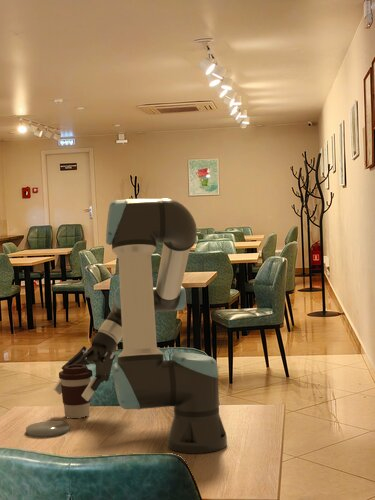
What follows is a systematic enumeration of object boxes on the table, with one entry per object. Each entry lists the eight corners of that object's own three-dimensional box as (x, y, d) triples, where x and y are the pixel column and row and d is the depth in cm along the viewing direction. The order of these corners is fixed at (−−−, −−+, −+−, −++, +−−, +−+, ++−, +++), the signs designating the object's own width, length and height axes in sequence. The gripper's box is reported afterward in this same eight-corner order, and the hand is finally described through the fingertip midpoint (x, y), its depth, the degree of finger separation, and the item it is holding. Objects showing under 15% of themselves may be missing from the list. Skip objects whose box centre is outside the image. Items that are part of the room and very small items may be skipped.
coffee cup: (97, 411, 224) (95, 363, 223) (89, 420, 214) (87, 369, 213) (65, 411, 225) (63, 363, 224) (56, 420, 215) (54, 370, 214)
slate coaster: (75, 433, 202) (75, 428, 201) (32, 440, 196) (32, 435, 196) (62, 422, 212) (62, 418, 212) (21, 429, 207) (21, 424, 207)
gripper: (141, 349, 221) (104, 408, 211) (89, 341, 238) (53, 396, 228) (127, 334, 217) (89, 394, 207) (75, 327, 234) (38, 382, 224)
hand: (70, 395), depth 218 cm, fingers open, 13 cm apart
